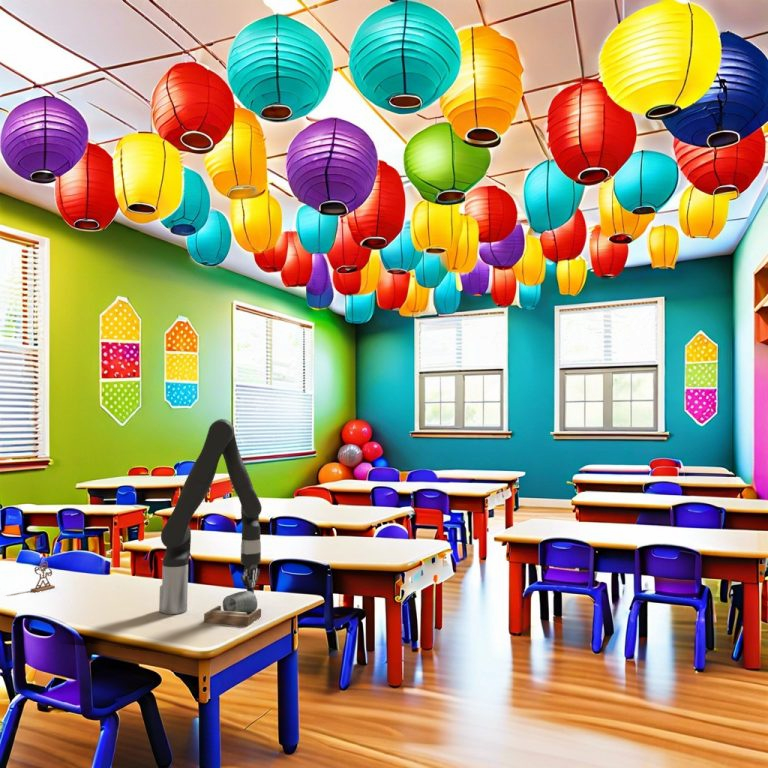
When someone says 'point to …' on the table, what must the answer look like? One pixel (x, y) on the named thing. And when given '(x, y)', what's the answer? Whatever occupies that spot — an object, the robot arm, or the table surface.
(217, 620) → the notched board
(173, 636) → the table surface
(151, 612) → the table surface
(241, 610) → the spool
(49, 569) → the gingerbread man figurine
